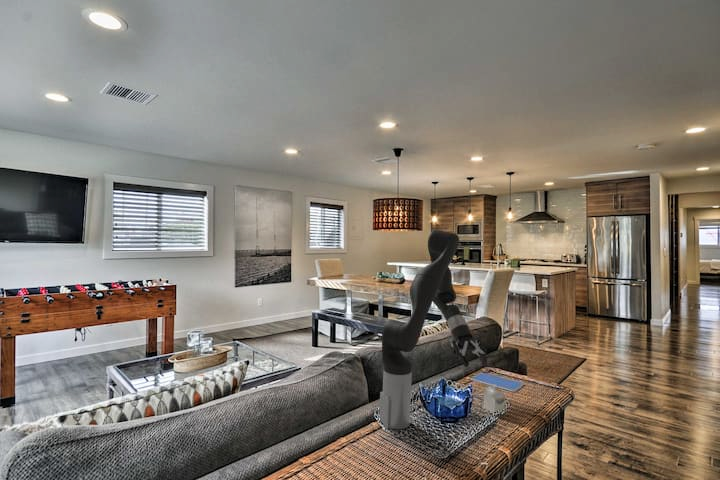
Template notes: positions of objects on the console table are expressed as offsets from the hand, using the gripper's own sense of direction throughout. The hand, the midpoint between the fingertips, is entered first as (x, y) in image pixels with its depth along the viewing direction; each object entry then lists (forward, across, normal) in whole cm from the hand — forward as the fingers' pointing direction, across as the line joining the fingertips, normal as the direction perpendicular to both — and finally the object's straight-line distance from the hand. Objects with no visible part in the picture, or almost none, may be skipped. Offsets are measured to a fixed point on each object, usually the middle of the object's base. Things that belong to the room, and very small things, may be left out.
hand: (476, 365), depth 145 cm
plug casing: (+17, 0, +2) cm, 17 cm away
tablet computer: (+1, +22, +19) cm, 29 cm away
